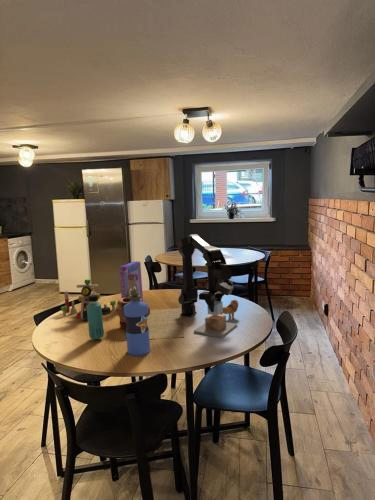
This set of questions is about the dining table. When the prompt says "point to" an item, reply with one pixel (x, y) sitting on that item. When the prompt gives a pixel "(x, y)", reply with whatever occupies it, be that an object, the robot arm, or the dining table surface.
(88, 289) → the toy construction set
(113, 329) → the dining table surface
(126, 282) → the cereal box
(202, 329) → the tower base
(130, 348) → the water bottle
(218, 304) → the slate-gray cube
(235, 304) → the lion figurine
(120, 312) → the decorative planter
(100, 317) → the teal caped figurine
